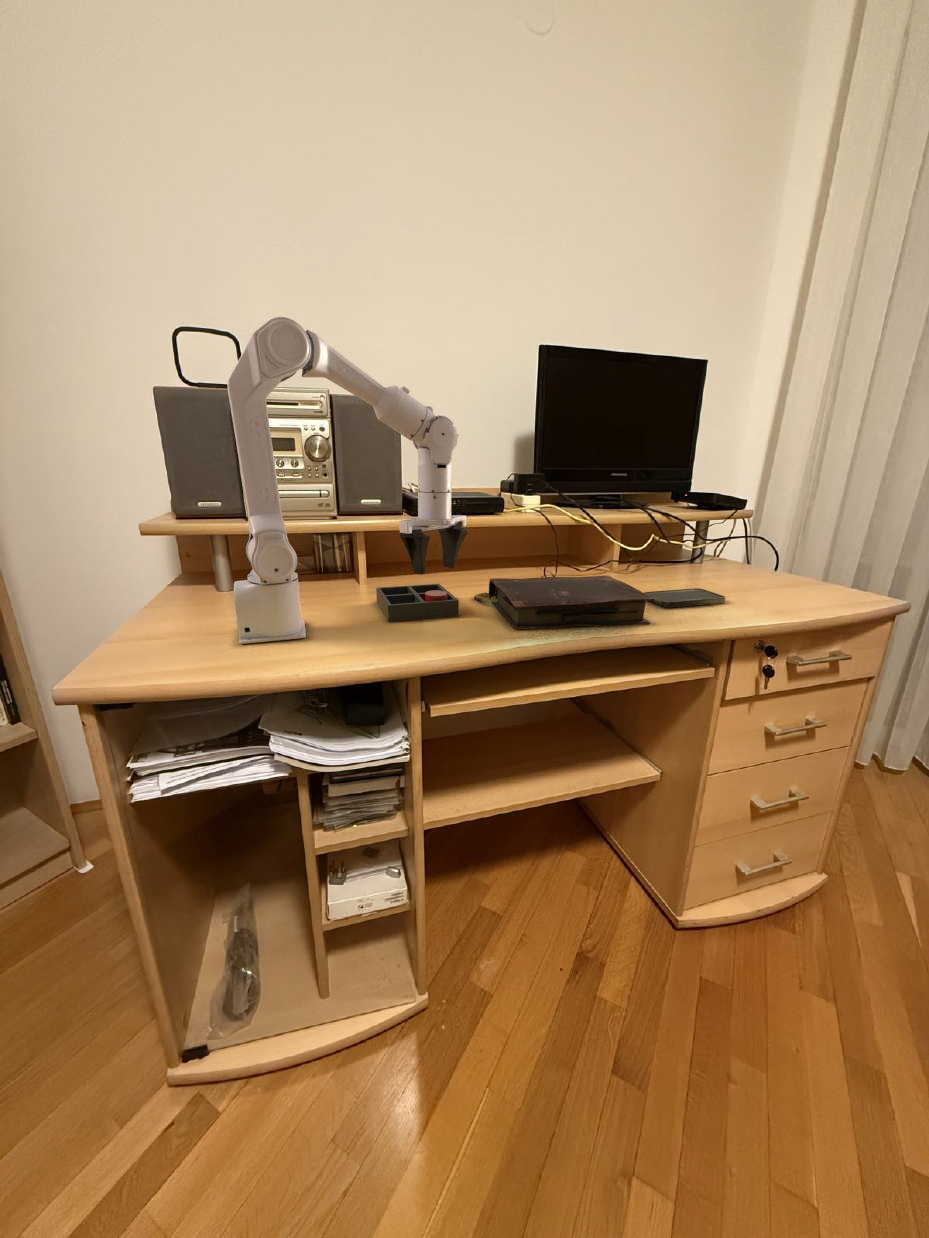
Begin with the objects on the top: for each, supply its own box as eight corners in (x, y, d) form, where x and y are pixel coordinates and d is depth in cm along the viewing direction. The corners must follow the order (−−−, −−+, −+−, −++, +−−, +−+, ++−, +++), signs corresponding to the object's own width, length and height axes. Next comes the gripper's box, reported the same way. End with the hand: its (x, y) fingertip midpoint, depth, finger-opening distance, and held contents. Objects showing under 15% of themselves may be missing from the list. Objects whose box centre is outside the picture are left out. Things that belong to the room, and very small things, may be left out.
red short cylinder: (428, 612, 87) (428, 596, 86) (422, 606, 91) (422, 591, 90) (449, 611, 88) (449, 595, 88) (443, 605, 92) (443, 589, 91)
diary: (487, 600, 98) (488, 575, 96) (603, 596, 102) (606, 572, 101) (514, 633, 80) (516, 604, 79) (652, 627, 85) (657, 599, 83)
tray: (388, 622, 84) (387, 605, 83) (376, 602, 95) (376, 587, 95) (458, 616, 88) (458, 600, 87) (439, 597, 99) (439, 583, 98)
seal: (471, 613, 95) (549, 615, 93) (471, 590, 93) (551, 592, 91) (476, 596, 103) (547, 597, 102) (475, 575, 101) (548, 576, 100)
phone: (641, 592, 101) (700, 587, 106) (640, 597, 102) (699, 592, 106) (666, 602, 94) (728, 597, 98) (665, 608, 95) (727, 602, 99)
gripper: (420, 495, 76) (420, 580, 80) (479, 492, 86) (477, 567, 90) (390, 492, 80) (392, 573, 84) (450, 489, 90) (449, 562, 95)
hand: (434, 570), depth 88 cm, fingers open, 7 cm apart
